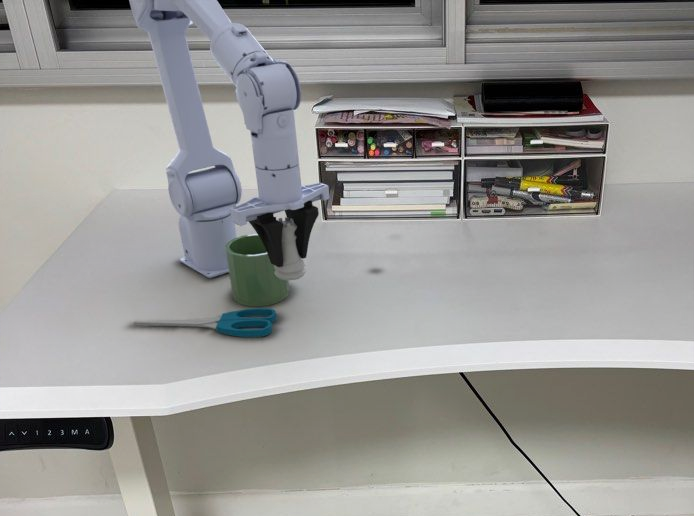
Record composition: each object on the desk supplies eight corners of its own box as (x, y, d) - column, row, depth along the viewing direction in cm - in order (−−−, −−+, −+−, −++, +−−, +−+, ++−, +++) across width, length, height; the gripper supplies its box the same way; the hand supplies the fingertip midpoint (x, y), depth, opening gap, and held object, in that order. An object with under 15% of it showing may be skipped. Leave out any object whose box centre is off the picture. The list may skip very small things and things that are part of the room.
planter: (222, 293, 121) (214, 244, 117) (268, 277, 126) (262, 229, 122) (253, 311, 116) (245, 261, 112) (300, 294, 121) (294, 244, 117)
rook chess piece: (311, 270, 114) (306, 217, 109) (297, 283, 110) (291, 228, 106) (284, 266, 115) (277, 213, 110) (268, 278, 111) (261, 224, 107)
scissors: (269, 330, 109) (124, 331, 109) (270, 336, 110) (126, 337, 110) (277, 308, 115) (140, 309, 115) (278, 314, 115) (142, 315, 115)
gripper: (246, 183, 97) (260, 284, 105) (339, 158, 105) (346, 253, 113) (215, 170, 101) (231, 269, 109) (307, 147, 110) (316, 240, 117)
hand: (288, 260), depth 111 cm, fingers closed on rook chess piece, 3 cm apart
